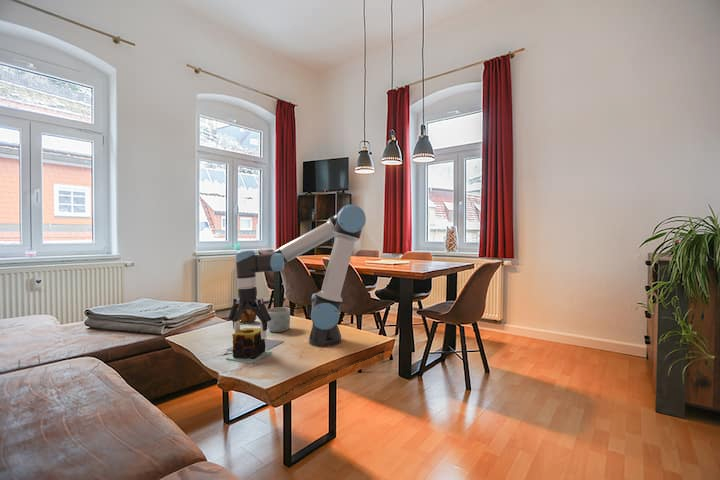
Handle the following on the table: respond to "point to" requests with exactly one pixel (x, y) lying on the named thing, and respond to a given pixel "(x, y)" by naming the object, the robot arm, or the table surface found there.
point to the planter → (279, 319)
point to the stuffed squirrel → (247, 316)
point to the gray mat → (267, 344)
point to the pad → (248, 358)
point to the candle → (248, 343)
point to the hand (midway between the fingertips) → (250, 337)
